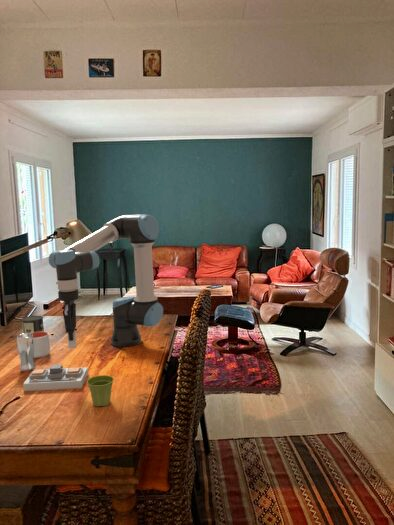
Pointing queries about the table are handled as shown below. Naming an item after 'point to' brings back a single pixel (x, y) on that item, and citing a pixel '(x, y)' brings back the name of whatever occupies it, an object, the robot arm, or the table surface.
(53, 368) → the key middle
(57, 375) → the console
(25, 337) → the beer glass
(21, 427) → the table surface
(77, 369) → the key
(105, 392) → the plant pot
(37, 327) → the coffee can
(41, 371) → the key
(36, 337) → the cup
